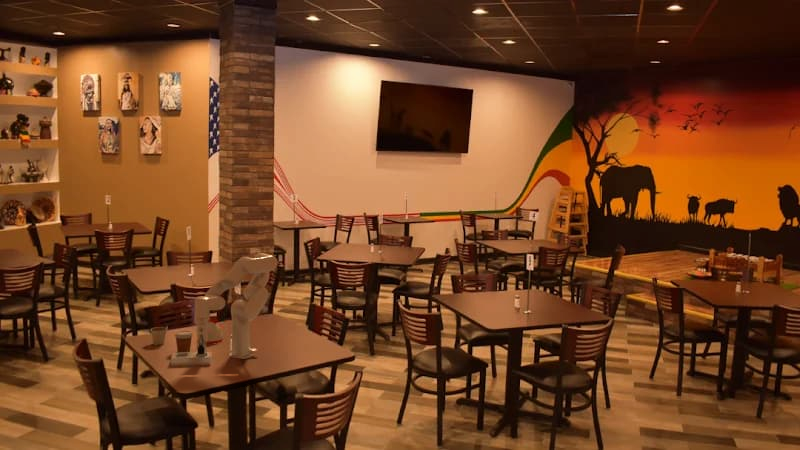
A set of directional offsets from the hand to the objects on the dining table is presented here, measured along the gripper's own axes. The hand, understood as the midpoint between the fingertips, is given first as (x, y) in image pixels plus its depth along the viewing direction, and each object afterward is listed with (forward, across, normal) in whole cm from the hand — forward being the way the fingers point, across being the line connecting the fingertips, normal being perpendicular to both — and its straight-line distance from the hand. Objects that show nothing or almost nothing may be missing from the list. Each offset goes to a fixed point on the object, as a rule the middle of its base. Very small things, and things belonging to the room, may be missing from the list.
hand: (201, 351), depth 362 cm
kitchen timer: (+7, +44, -2) cm, 45 cm away
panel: (+7, 0, +5) cm, 8 cm away
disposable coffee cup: (+7, +19, +11) cm, 23 cm away
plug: (+6, 0, 0) cm, 6 cm away
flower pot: (+7, +40, +27) cm, 49 cm away
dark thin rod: (+7, -7, +4) cm, 11 cm away
